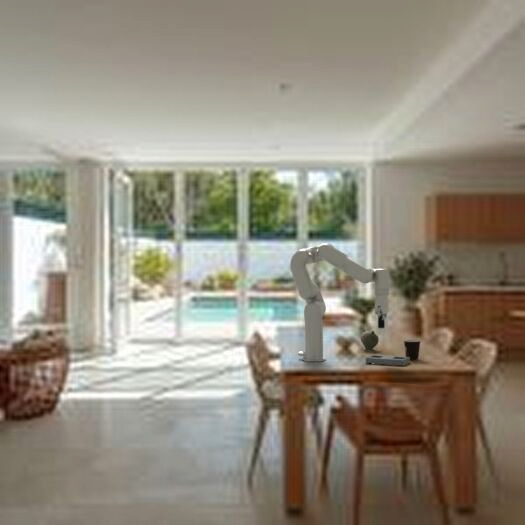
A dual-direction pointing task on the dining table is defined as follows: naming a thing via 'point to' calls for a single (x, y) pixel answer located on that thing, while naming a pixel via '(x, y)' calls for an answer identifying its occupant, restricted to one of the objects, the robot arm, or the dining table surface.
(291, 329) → the dining table surface
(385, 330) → the plug
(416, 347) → the coffee mug
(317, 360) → the robot arm
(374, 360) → the panel
